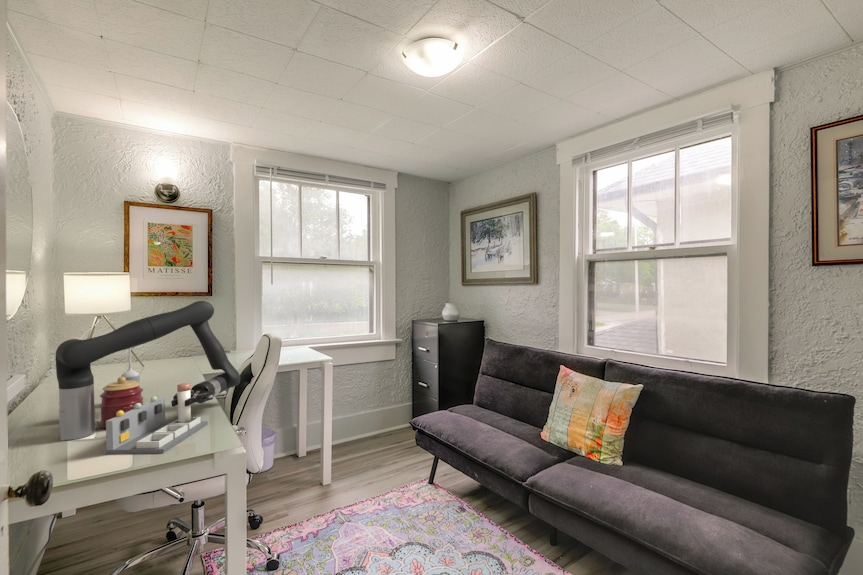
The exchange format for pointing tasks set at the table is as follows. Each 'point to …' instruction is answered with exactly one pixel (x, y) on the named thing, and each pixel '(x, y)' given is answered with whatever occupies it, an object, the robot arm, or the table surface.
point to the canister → (119, 398)
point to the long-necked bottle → (131, 371)
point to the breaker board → (147, 430)
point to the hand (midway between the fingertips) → (179, 403)
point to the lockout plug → (183, 410)
